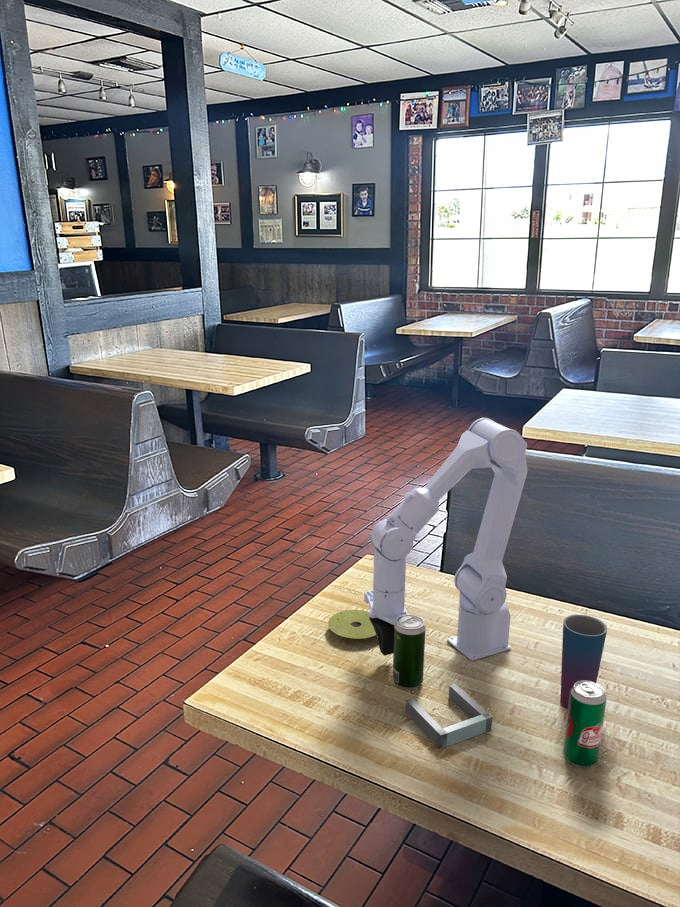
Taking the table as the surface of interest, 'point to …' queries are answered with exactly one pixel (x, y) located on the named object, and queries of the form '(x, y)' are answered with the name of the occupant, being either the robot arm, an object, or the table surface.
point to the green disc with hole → (352, 624)
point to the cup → (580, 652)
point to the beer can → (408, 652)
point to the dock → (457, 732)
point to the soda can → (584, 723)
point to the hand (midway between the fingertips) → (387, 652)
